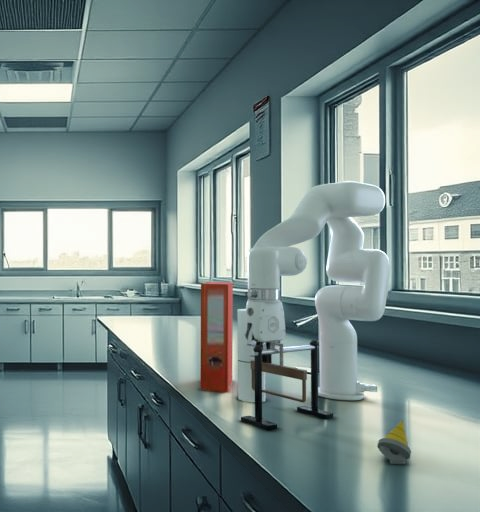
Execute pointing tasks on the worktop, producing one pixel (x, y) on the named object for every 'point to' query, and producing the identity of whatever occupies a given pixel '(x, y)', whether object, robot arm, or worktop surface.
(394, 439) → the yellow grey cone
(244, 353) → the cylindrical container
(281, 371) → the brown clothes hanger
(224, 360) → the file binder
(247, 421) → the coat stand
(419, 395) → the worktop surface
